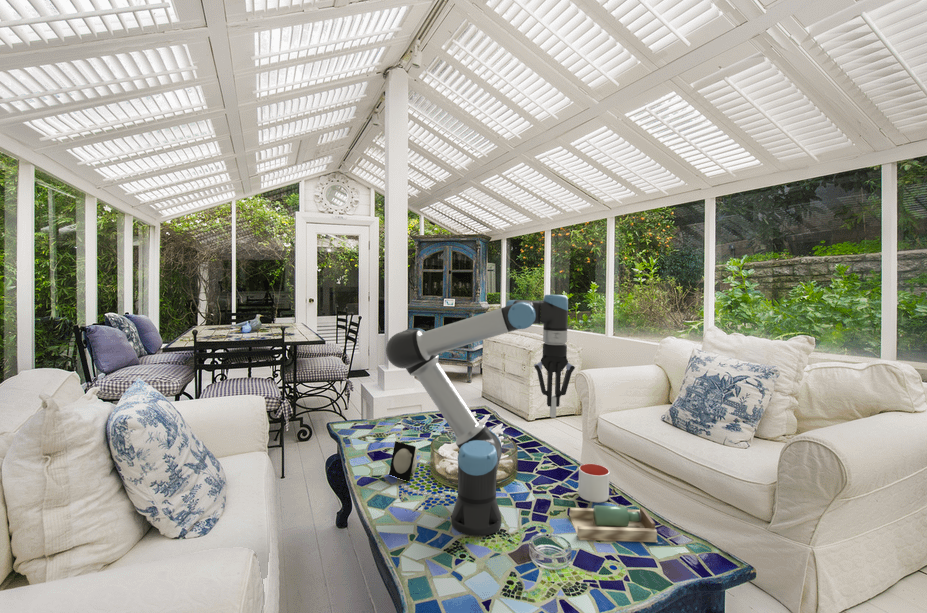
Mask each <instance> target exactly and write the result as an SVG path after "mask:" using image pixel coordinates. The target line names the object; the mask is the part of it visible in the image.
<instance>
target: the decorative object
mask: <svg viewBox="0 0 927 613" xmlns="http://www.w3.org/2000/svg"><path fill="white" fill-rule="evenodd" d="M392 450H393V451H392V456H391V461H390V466H389V467H390V468H389V472H388V476H389V475H392V476H395V477H397V478H400V479H403V480H406V481H409V483H410V481H411V475H412V474H414V473H416V469H417V467H418V459H417V457H418V454H417V447H416V446H415V445H413V444H407V443H403V442H400V441H396V440H395V441H394V446H393V449H392ZM411 473H412V474H411Z"/></svg>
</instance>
